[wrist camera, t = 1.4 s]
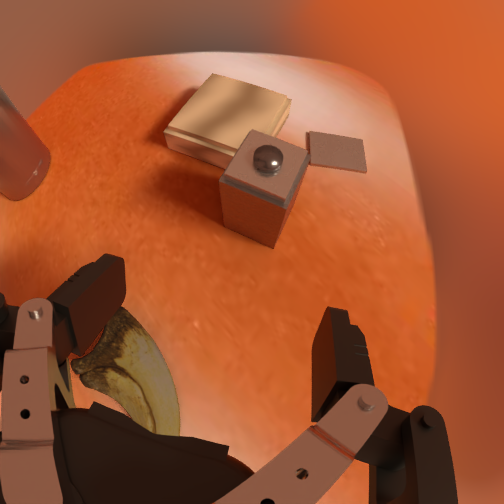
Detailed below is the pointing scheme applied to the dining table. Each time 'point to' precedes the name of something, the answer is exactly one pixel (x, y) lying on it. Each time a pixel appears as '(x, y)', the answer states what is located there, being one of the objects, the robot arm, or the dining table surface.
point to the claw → (132, 374)
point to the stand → (225, 119)
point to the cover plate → (337, 152)
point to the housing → (262, 186)
